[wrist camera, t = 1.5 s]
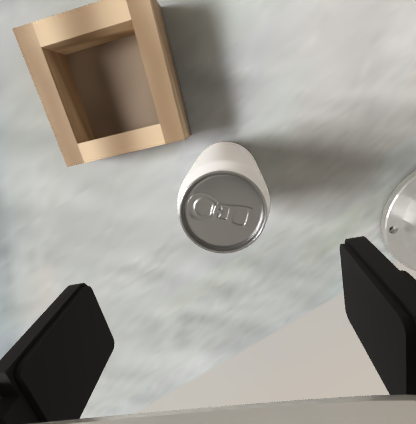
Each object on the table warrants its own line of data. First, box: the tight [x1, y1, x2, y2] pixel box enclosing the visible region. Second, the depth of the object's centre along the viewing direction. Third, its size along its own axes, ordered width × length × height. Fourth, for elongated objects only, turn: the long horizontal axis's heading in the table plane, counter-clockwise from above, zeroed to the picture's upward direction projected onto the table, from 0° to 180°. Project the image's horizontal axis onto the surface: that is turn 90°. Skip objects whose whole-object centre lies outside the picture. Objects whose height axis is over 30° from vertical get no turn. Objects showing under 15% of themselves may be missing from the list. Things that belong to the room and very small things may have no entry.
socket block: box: [13, 0, 191, 167], centre depth 25 cm, size 11×11×4 cm
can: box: [177, 142, 270, 253], centre depth 24 cm, size 6×6×12 cm
